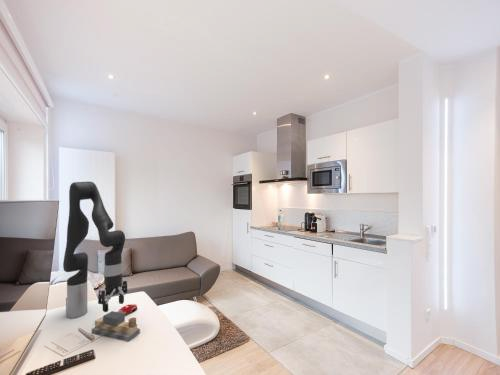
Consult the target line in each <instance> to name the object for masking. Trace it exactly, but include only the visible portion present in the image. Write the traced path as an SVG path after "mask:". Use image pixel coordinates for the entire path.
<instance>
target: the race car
mask: <svg viewBox="0 0 500 375" xmlns="http://www.w3.org/2000/svg"><path fill="white" fill-rule="evenodd" d="M137 310H138V305H137V304H135V303H132V304H130V303H129V304H126V305H124V306H122V307H121V308H120V309H119V310H117V311H116V312H120V313H125V317H126V316H128V315H130V314H132V313H134V312H136V311H137Z"/></svg>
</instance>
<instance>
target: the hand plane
mask: <svg viewBox="0 0 500 375" xmlns="http://www.w3.org/2000/svg"><path fill="white" fill-rule="evenodd" d="M91 334H94V335H97V336H102V337H106V338H111V339H115V340H119V341H123V342H130V341H131V340H133V339H134V338H135V337H136V336H138V335H139V334H141V328H139V327H138V324H137V317H131V318H129V319H128V321H124V322H122V323H121V324H119V325H117V326H112V325H107V324H103V316H102V317H99V318H98V319H95V320H94V327H93V328H91Z"/></svg>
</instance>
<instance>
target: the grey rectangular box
mask: <svg viewBox="0 0 500 375" xmlns="http://www.w3.org/2000/svg"><path fill="white" fill-rule="evenodd" d="M102 317H103V324H107V325H112V326H117V325H119V324H121V323H122V322H126V316H125V313H120V312H117V311H112V310H111V311H110V312H107V313H106V314H105V315H102Z"/></svg>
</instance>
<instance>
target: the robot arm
mask: <svg viewBox="0 0 500 375" xmlns="http://www.w3.org/2000/svg"><path fill="white" fill-rule="evenodd" d="M101 196H102V195H101V194H100V191H99V189H98V187H97V185H96V184H95V183H94V181H74V182H72V183H71V184H70V186H69V190H68V200H69V202H68V205H69V207H68V208H69V209H68V221H67V222H68V223H67V229H66V230H67V231H66V242H65V244H66V245H65V251H64V257H63V264H62V265H63V267H62V268H63V271H64V273H65V272H66V273H72V272H76V271H77V272H76V273H75V274H74V275H72V276H70V277H68V279H67V280H66V298H65V316H66V317H67V318H68V319H75V318H76V319H77V318H79V317H82V316H84V315H86V314H87V313H88V268H89V267H88V266H89V256H88V253H86V252H77V253H75V252H76V249H77V248H78V247H79V245H80V244H81V243H82V242H83V241H84V240H85V239H86V237H87V236H88V235H89V234H88V233H89V228H90V221H89V219H88V218H87V215H85V213H84V212H83V211H82V209H81V201H83V200H91V201H92V202H93V203H92V204H93V206H92V210H91V220H92V222H93V224H94V225H95V227H96V229H97V233H98V238H99V239H98V240H99V242H100V245H101V246H102V247H105V248H110V247H112V248H111V249H110V250H109V251H106V252H105V253H104V270H103V274H104V275H103V277H104V278H103V279H104V280H103V284H104V286H105V287H104V289H102V290H101V289H99V291H98V296H97V298H98V299H97V304H98V305H102V311H103V312H104V313H109V301H110V300H111V299H112V297H113V296H115V295H117V294H118V304H121V305H122V304H124V302H125V295H126V294H127V293H128V292H129V290H128V281H127V280H123V264H122V263H123V262H122V254H123V250H124V247H125V242H126V236H125V233H124V231H122V230H120V229H118V230H113V231H110V230H112V228H113V227H114V222H113V220H112V218H111V217H110V215H109V213H108V212H107V210H106V208H105V205H104V202H103V199H102V197H101Z"/></svg>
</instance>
